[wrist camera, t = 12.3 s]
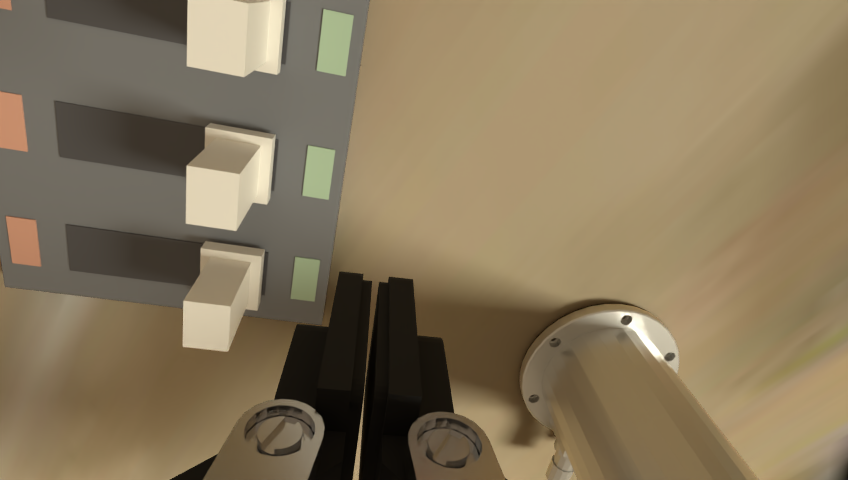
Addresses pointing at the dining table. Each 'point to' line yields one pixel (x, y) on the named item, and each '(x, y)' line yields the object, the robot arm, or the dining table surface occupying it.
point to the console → (165, 149)
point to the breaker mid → (229, 176)
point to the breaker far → (221, 295)
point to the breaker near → (235, 35)
